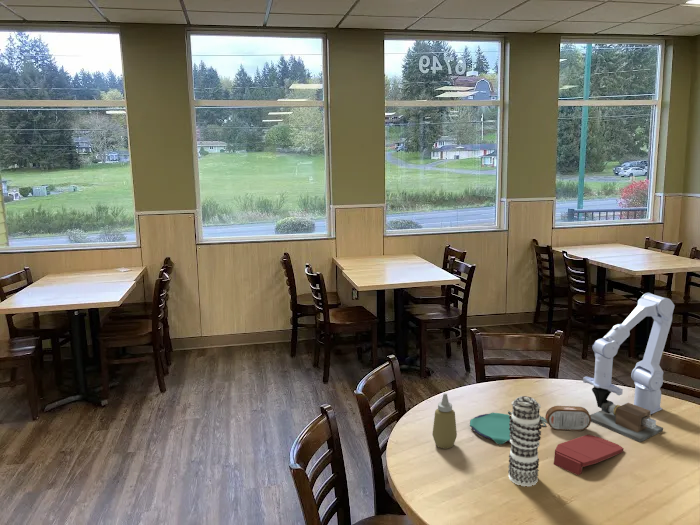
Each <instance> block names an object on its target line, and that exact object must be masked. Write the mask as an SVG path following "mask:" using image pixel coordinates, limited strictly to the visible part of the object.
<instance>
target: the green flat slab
mask: <svg viewBox="0 0 700 525" xmlns="http://www.w3.org/2000/svg"><path fill="white" fill-rule="evenodd" d="M510 414H511V415H512V411H511V412H510V411H507V413H500V412H490V413H485V414H484V413H483V414H480V415H477V416H475V417H473V418H471V419H470V420H469V421H470V422H469V427H471V429H472V430H473V431H474V432H475V433H477V435H479V436H482V437H483V438H487V439H490V440H493V441H494V443H496V444H497V445H503V444H505V443H506V442H510V436H509V435H510V430H509V428H510V425H509V423H510V419H509V416H511V415H510ZM511 419H512V416H511ZM540 419H541V420H542V424H543V425H542V424H541V425H542V427H545V426H547V424H548V423H547V421H546V418H545V417H544V416H541V415H540ZM548 425H549V424H548ZM511 430H512V429H511Z"/></svg>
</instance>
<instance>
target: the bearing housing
mask: <svg viewBox="0 0 700 525" xmlns="http://www.w3.org/2000/svg"><path fill="white" fill-rule="evenodd" d="M650 412H651V411H650V410H647V409H644V408H642V407H639V406H636V405H634V403H630V402H627V403H624V404H622V405H620V406H619V407H617V409H616V416H615V415H614V414H613V413H606V412H604V411H602V409H601V410H599V411H596V412H594V413H591V414H590V416H591V423H593V424H596V425H599V426H601V427H603V428H606V429H608V430H611V431H612V432H615V433H618V434H619V435H622V436H624V437H627V438H629V439H631V440H633V441H636V442H638V443H641V442H643V441H646V440H647V439H649V438H652V437H653V436H655V435H657V434H660V433H661V432H663V431H664V427H662V426H660V425H657V424H656V427H655V428H652V429H651V428H648V427H646V426H643V425H641V421H642V418H643V417H645V416H646V417H648V418H651V415H650Z"/></svg>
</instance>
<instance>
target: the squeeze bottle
mask: <svg viewBox="0 0 700 525" xmlns="http://www.w3.org/2000/svg"><path fill="white" fill-rule="evenodd" d="M457 432H458V431H457V421H456V412H455V410H454V409H453V405H452V403H451V402H449V398H448V393H443V394H442V397H441V401H440V402H438V404H437V408H436V409H435V411H434V418H433V427H432V438H433V440H434V444H435V445H436V447H438V448H440V449H444V450H445V449H451V448H453V447H454V444H455V443H456V440H457V436H458V434H457Z"/></svg>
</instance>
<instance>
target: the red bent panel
mask: <svg viewBox="0 0 700 525" xmlns="http://www.w3.org/2000/svg"><path fill="white" fill-rule="evenodd" d="M623 452H624V447H623V446H621V445H620V444H618V443H616V442H612V441H610V440H608V439H605V438H603V437H599V436H597V435H592V434H585V435H582V436H579V437H576V438H573V439H570V440H567V441H563V442H561V443H558V444H557V445H556V447H555V449H554V456H553V457H554V459H553V465H554V466H557V467H559V468H562V469H564V470H565V471H567V472H569V473H572V474H574V475H576V476H579V475H581V474H582V472H583V468H585V467H587V466H592V465H595V464H597V463H600V462H602V461H605V460H608V459H610V458H612V457H615V456H617V455H620V454H622V453H623Z"/></svg>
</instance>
